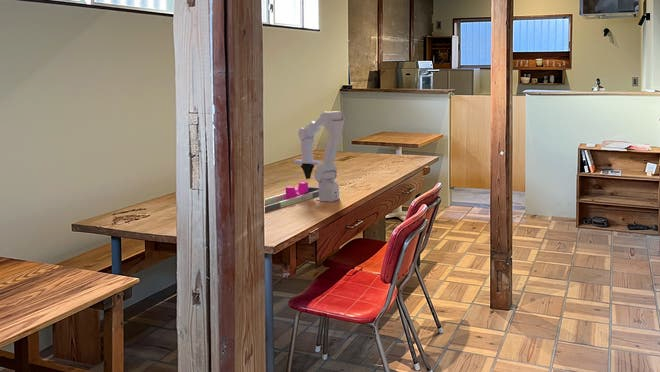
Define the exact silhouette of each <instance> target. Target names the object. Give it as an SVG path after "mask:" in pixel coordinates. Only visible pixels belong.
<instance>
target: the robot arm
mask: <svg viewBox="0 0 660 372" xmlns="http://www.w3.org/2000/svg"><path fill="white" fill-rule="evenodd" d="M345 120H346V118H345V115H344V113H343V111H342V110H337V111H335V110H334V111H323V112H322V113H320V117H318V118H317V119H316V120H311V121H309V124H306V125H305V127H300V128H299V130H298V132H297V133H298V138H299V139H300V148H301V149H300V150H301V151H300V153H301V155H300V156H301V159H294V164H296V165H297V164H298V165H300V168H301V169H302V172H303V174H304V177H305V179H306V180H309V179H311V176H312V173H313V170H314V168H315V166H316V169H315V171H314V173H313V175H314V179H315V181H317V182H316V183H318V187H319V196H318V198H315V199H314V200H315V201H319V202H329V203H330V202H331V203H333V202H335V201H339V200H340V199H341V197H340V186H339V183H338V182H335V181H336V179H337V176H338V167H337V166H336V164H335V161H336V158H337V157H336V156H337V152H338V149H339V145H340V141H341V137H342V132H343V129H344V124H345ZM321 127H323V128H324V129H325V130H326V131H325V132H327V133H329V134H328V135H329V136H328V138H327V143H326V147H325V151H324V154H323V159H322V161H320V160H316V159H314V147H313V143H314V139H315V135H316V134H317V133H318V132H319V131H321Z"/></svg>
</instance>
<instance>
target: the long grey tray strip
mask: <svg viewBox="0 0 660 372" xmlns="http://www.w3.org/2000/svg"><path fill="white" fill-rule="evenodd" d="M317 197H319V186H317V187H316V186H308V193H307V194H304V195H300V196H297V197H293V198H290V199H287V200H286V192H285V193H281V194H277V195H274V196H271V197H267V198H264V199H265V204H266V205H264V206H265V212H264V213H268V212H271V211H274V210H277V209H281V208H284V207H288V206H291V205H293V204H296V203H300V202H303V201H306V200H310V199H313V198H317Z"/></svg>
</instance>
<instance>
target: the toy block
mask: <svg viewBox="0 0 660 372" xmlns="http://www.w3.org/2000/svg"><path fill="white" fill-rule="evenodd" d="M308 187H309V182H306V181H305V182H303V181H301V182H298V187H295V186H286V187H285V193H286V199H285V200H287V199H290V198H293V197H297V196H300V195H304V194H307V193H308Z"/></svg>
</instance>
